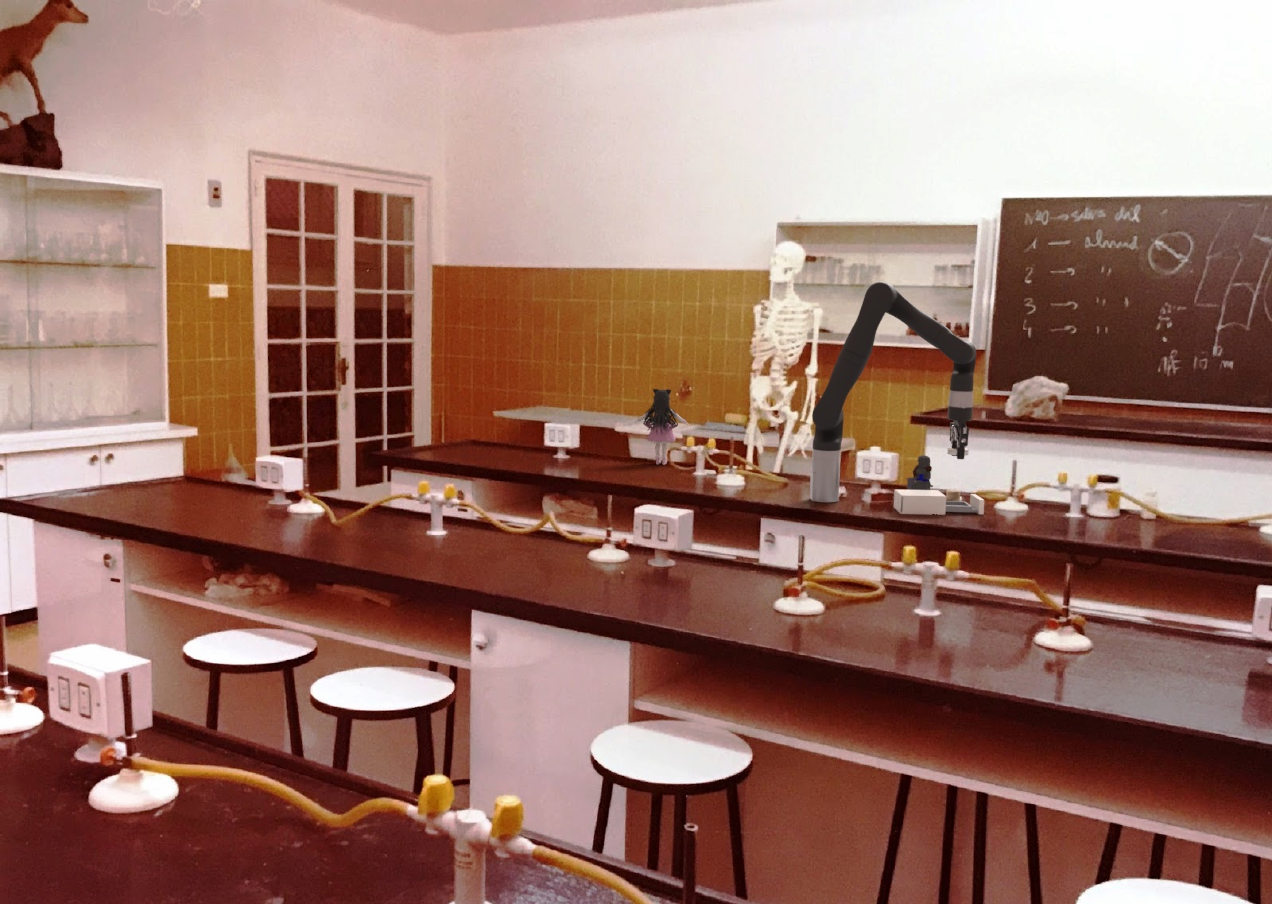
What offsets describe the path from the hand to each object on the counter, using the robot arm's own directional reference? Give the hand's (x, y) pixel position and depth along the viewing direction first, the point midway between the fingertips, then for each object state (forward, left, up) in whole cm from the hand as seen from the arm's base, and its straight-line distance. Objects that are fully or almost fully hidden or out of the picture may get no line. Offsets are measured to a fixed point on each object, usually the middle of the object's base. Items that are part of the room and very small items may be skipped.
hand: (957, 457), depth 362 cm
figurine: (-94, +88, -18) cm, 130 cm away
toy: (-7, +21, -18) cm, 29 cm away
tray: (0, 0, -17) cm, 17 cm away
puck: (0, 0, +1) cm, 1 cm away
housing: (-11, 0, -18) cm, 21 cm away
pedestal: (+2, +9, -18) cm, 20 cm away
